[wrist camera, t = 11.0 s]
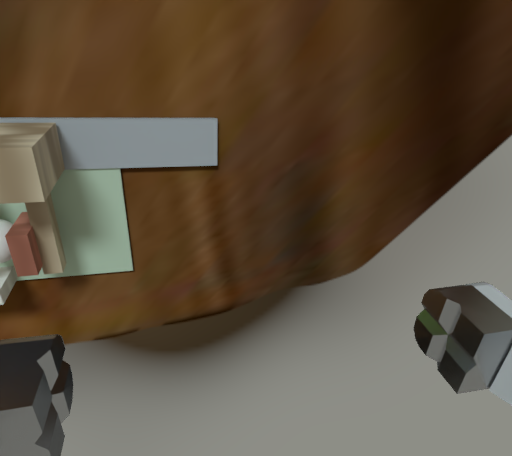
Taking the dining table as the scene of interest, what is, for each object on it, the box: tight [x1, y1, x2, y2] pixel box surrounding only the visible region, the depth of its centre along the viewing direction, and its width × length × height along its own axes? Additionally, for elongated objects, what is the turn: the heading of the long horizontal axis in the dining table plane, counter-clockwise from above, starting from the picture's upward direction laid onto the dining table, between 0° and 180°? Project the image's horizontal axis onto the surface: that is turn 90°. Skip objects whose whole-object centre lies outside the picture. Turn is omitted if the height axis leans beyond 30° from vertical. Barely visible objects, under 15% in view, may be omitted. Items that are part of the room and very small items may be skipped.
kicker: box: [0, 123, 66, 277], centre depth 31 cm, size 4×13×7 cm, turn 177°
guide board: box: [0, 118, 217, 170], centre depth 33 cm, size 18×4×1 cm, turn 87°
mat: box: [0, 168, 133, 281], centre depth 35 cm, size 18×12×1 cm, turn 87°
